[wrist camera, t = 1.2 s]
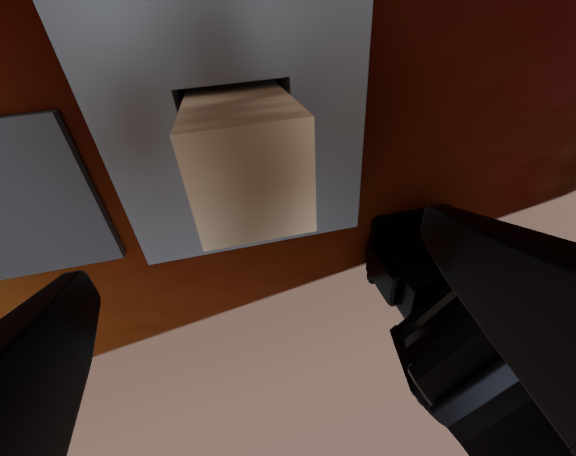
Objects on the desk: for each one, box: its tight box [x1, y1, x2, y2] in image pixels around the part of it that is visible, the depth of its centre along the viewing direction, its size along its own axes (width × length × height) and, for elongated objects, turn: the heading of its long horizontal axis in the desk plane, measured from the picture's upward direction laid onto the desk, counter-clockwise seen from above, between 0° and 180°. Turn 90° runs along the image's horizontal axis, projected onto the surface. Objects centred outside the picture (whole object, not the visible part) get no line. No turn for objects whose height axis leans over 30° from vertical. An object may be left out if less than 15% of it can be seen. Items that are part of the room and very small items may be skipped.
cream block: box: [170, 79, 317, 252], centre depth 14 cm, size 4×4×8 cm
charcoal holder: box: [33, 0, 373, 265], centre depth 16 cm, size 13×13×2 cm
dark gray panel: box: [0, 110, 126, 280], centre depth 17 cm, size 9×9×1 cm
